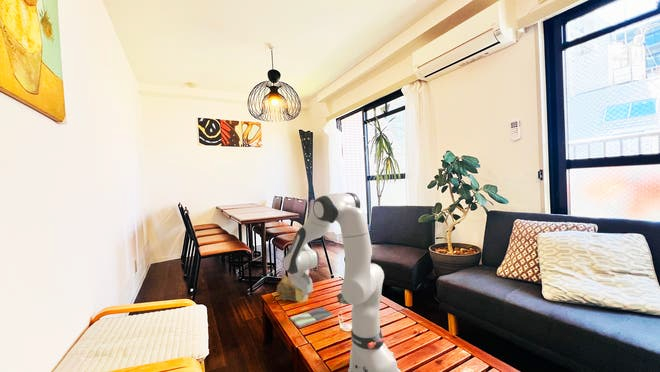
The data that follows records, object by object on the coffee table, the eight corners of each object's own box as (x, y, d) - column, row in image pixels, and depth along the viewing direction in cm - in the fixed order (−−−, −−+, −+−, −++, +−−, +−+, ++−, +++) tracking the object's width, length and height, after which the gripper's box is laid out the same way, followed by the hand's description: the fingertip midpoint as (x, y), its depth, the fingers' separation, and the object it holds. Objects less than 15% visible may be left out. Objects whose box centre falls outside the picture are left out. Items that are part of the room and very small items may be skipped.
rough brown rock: (291, 310, 161) (292, 285, 160) (272, 301, 171) (273, 277, 170) (316, 297, 179) (317, 275, 179) (298, 289, 189) (299, 268, 189)
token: (308, 300, 146) (307, 289, 146) (299, 302, 143) (299, 291, 143) (304, 297, 150) (303, 286, 150) (295, 299, 147) (295, 288, 147)
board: (333, 315, 150) (333, 314, 150) (299, 328, 139) (299, 326, 139) (322, 307, 160) (322, 306, 160) (289, 318, 149) (289, 317, 149)
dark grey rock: (331, 297, 175) (344, 306, 162) (331, 291, 175) (344, 300, 162) (355, 290, 185) (369, 298, 172) (355, 285, 185) (368, 292, 172)
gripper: (315, 274, 139) (316, 301, 139) (298, 265, 156) (298, 288, 157) (304, 277, 136) (305, 304, 136) (287, 267, 153) (288, 291, 153)
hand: (301, 296), depth 147 cm, fingers closed on token, 5 cm apart
